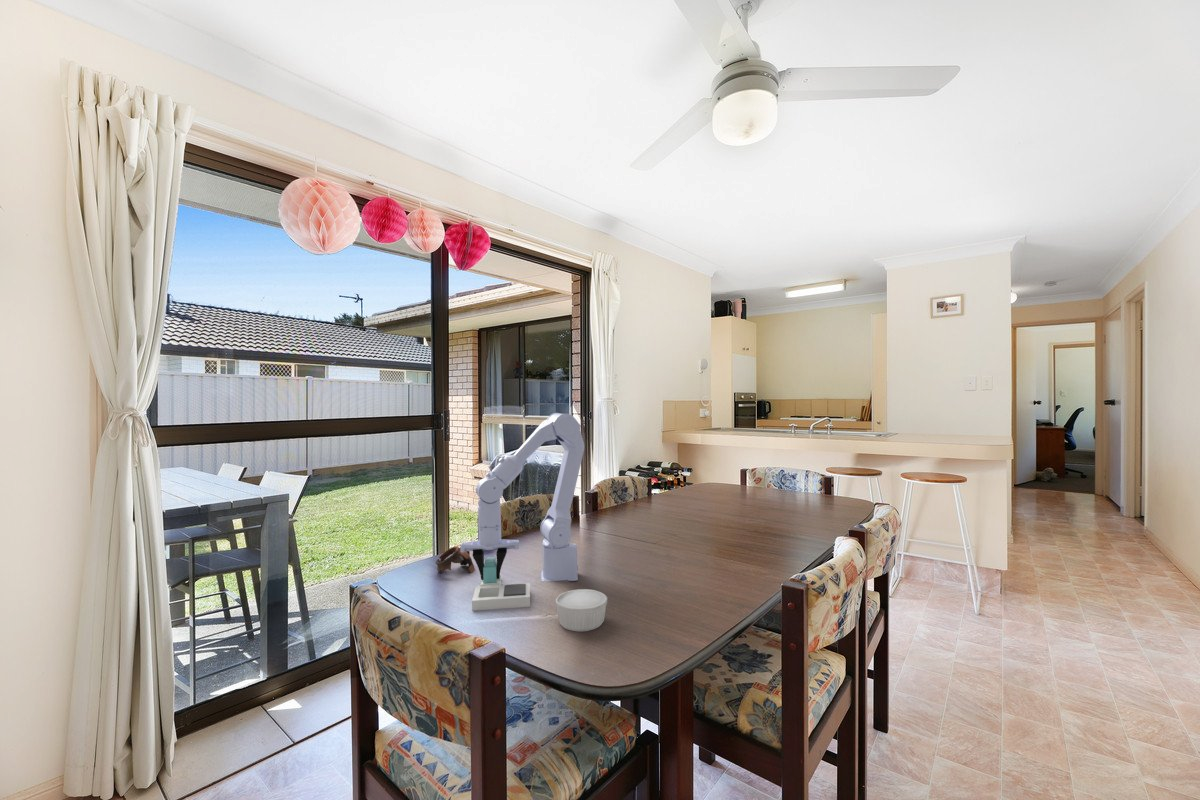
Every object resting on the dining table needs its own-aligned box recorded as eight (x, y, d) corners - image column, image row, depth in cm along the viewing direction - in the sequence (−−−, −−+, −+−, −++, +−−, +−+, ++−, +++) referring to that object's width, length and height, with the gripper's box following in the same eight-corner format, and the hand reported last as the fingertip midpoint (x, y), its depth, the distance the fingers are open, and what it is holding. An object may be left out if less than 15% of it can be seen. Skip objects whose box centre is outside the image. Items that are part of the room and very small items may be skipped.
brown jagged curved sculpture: (472, 580, 137) (455, 556, 135) (443, 594, 138) (426, 570, 137) (484, 555, 148) (469, 533, 147) (457, 568, 150) (442, 546, 148)
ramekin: (558, 611, 115) (558, 588, 115) (608, 611, 115) (607, 588, 115) (552, 634, 104) (552, 609, 104) (607, 634, 104) (606, 609, 104)
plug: (497, 581, 133) (497, 556, 133) (496, 587, 128) (496, 561, 128) (485, 581, 132) (484, 557, 132) (483, 588, 128) (483, 562, 128)
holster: (501, 580, 135) (501, 573, 135) (499, 592, 127) (499, 584, 127) (482, 581, 134) (482, 574, 134) (479, 593, 126) (479, 585, 126)
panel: (530, 594, 125) (529, 581, 125) (530, 608, 117) (529, 595, 117) (476, 598, 123) (475, 584, 123) (472, 613, 115) (471, 599, 115)
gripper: (458, 530, 125) (459, 585, 125) (518, 527, 127) (518, 581, 127) (462, 523, 132) (463, 575, 132) (518, 520, 134) (519, 572, 134)
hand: (490, 578), depth 130 cm, fingers closed on plug, 3 cm apart
